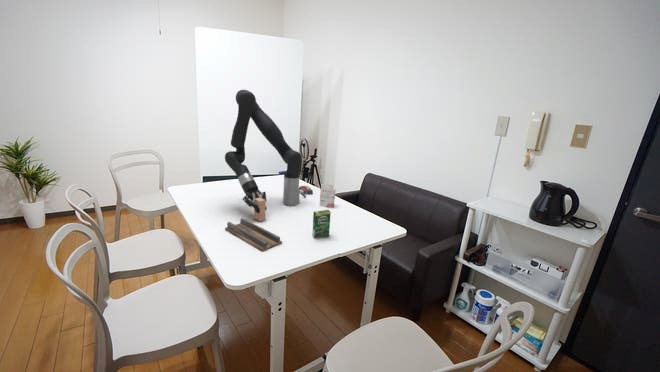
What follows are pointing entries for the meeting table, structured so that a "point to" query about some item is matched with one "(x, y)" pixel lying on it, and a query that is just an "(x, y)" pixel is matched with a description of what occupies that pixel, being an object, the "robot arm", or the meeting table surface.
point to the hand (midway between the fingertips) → (262, 211)
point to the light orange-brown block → (262, 205)
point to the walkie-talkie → (305, 190)
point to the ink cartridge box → (327, 195)
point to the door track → (253, 235)
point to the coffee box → (321, 223)
